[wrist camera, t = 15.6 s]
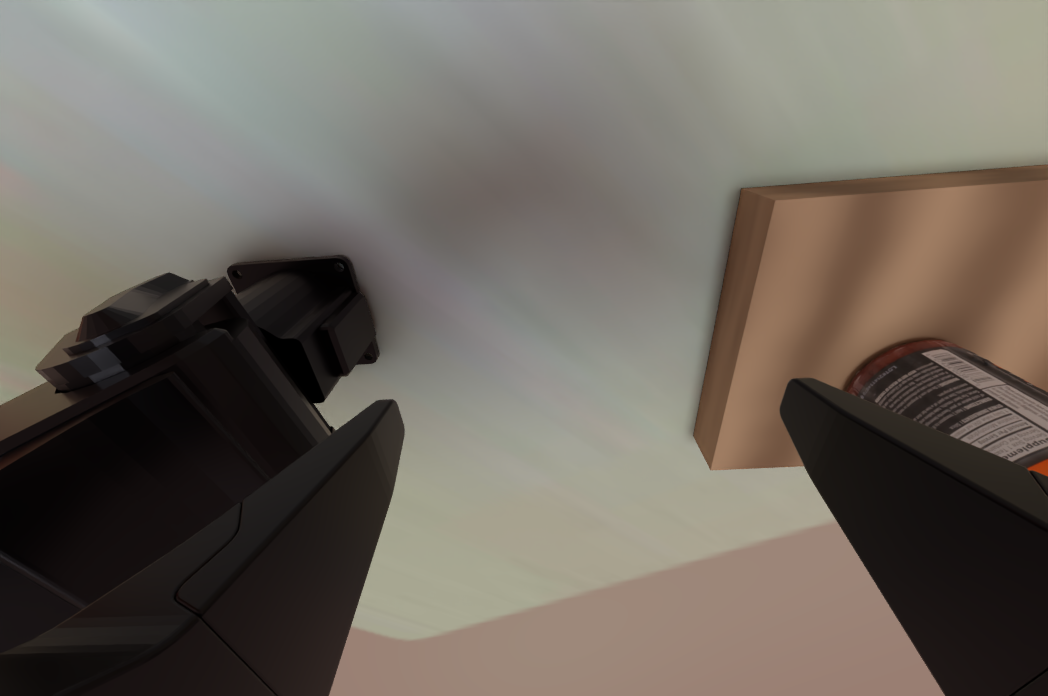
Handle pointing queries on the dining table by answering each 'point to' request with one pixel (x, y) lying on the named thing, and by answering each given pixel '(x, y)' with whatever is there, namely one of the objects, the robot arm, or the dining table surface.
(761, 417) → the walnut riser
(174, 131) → the dining table surface
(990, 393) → the supplement bottle
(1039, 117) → the dining table surface
